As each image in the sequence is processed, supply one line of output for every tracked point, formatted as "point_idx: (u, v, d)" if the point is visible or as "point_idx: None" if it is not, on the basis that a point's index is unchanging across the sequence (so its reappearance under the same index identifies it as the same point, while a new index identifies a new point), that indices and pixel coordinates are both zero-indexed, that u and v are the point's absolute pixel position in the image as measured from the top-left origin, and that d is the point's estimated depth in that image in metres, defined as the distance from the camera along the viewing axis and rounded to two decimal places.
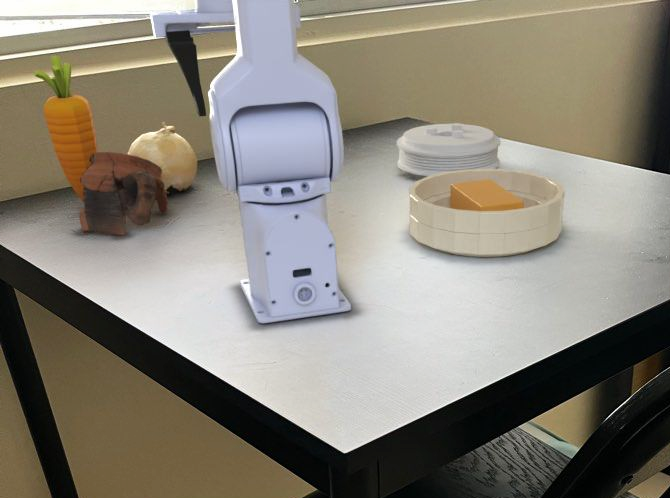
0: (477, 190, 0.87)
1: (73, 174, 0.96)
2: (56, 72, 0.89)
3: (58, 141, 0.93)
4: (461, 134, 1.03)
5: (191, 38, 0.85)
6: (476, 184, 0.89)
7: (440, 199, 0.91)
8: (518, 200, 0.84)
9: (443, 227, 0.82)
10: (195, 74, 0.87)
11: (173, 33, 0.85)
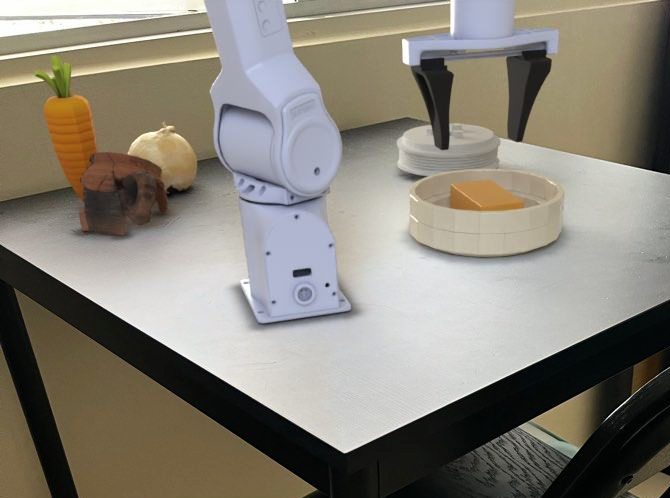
0: (477, 190, 0.87)
1: (73, 174, 0.96)
2: (56, 72, 0.89)
3: (58, 141, 0.93)
4: (461, 134, 1.03)
5: (445, 66, 0.78)
6: (476, 184, 0.89)
7: (440, 199, 0.91)
8: (518, 200, 0.84)
9: (443, 227, 0.82)
10: (446, 105, 0.79)
11: (427, 61, 0.77)
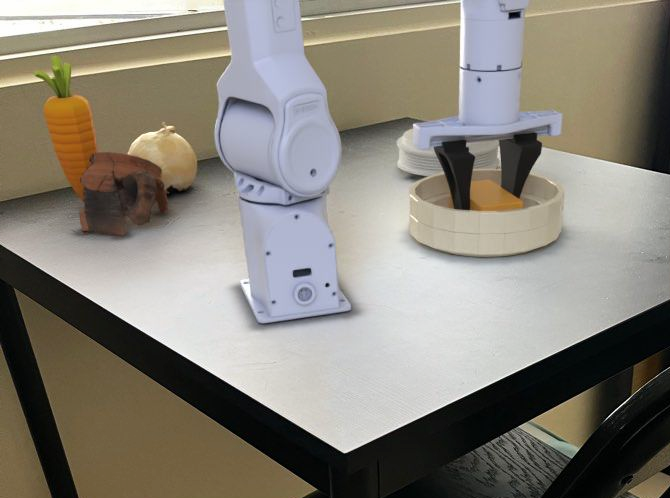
0: (477, 190, 0.87)
1: (73, 174, 0.96)
2: (56, 72, 0.89)
3: (58, 141, 0.93)
4: None
5: (467, 148, 0.82)
6: (476, 184, 0.89)
7: (440, 199, 0.91)
8: (518, 200, 0.84)
9: (443, 227, 0.82)
10: (467, 184, 0.83)
11: (450, 143, 0.82)
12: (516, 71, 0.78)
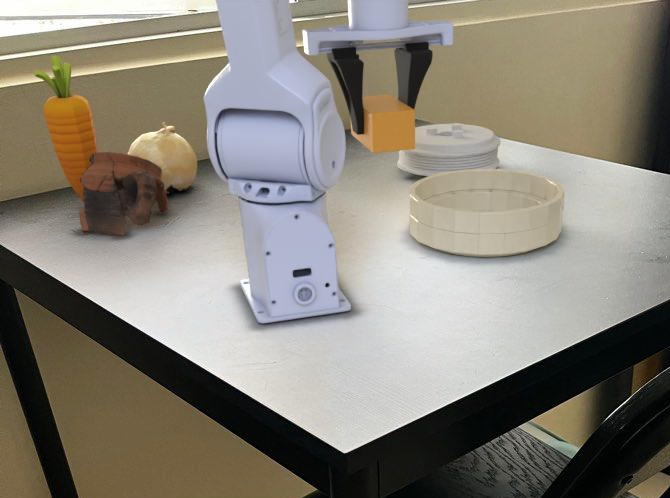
0: (373, 101, 0.88)
1: (73, 174, 0.96)
2: (56, 72, 0.89)
3: (58, 141, 0.93)
4: (461, 134, 1.03)
5: (357, 55, 0.83)
6: (374, 97, 0.90)
7: (440, 199, 0.91)
8: (409, 109, 0.85)
9: (443, 227, 0.82)
10: (358, 92, 0.84)
11: (340, 50, 0.83)
12: None
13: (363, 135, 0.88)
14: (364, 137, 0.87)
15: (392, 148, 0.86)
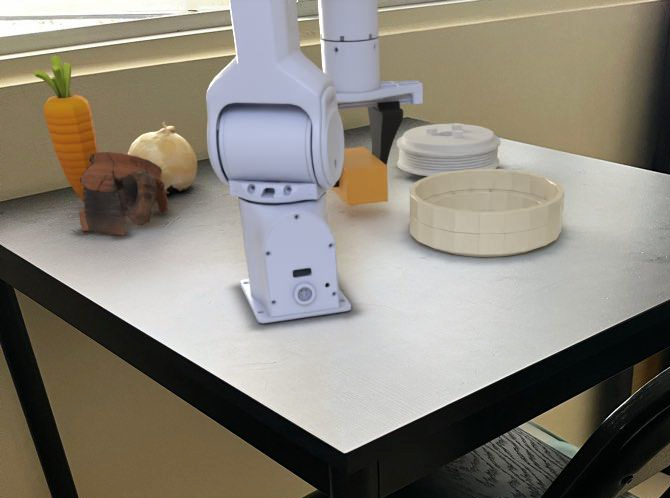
0: (348, 156, 0.93)
1: (73, 174, 0.96)
2: (56, 72, 0.89)
3: (58, 141, 0.93)
4: (461, 134, 1.03)
5: None
6: (349, 150, 0.94)
7: (440, 199, 0.91)
8: (382, 164, 0.90)
9: (443, 227, 0.82)
10: None
11: None
12: (371, 41, 0.84)
13: (338, 187, 0.93)
14: (339, 189, 0.92)
15: (366, 201, 0.91)
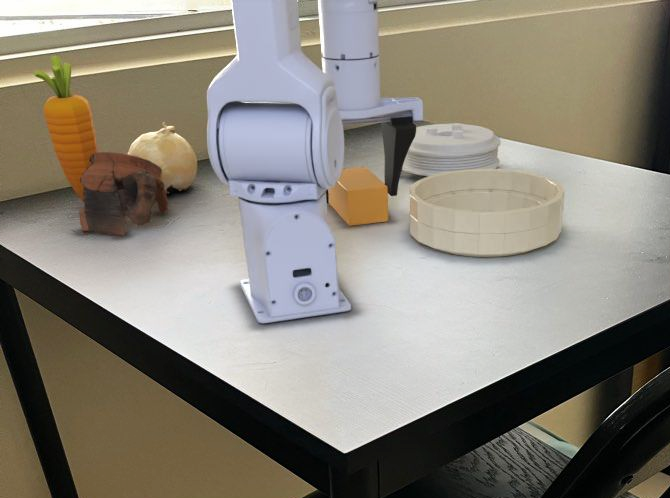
0: (349, 176, 0.94)
1: (73, 174, 0.96)
2: (56, 72, 0.89)
3: (58, 141, 0.93)
4: (461, 134, 1.03)
5: None
6: (350, 171, 0.96)
7: (440, 199, 0.91)
8: (382, 185, 0.91)
9: (443, 227, 0.82)
10: None
11: None
12: (372, 60, 0.85)
13: (340, 207, 0.94)
14: (341, 209, 0.94)
15: (367, 221, 0.92)
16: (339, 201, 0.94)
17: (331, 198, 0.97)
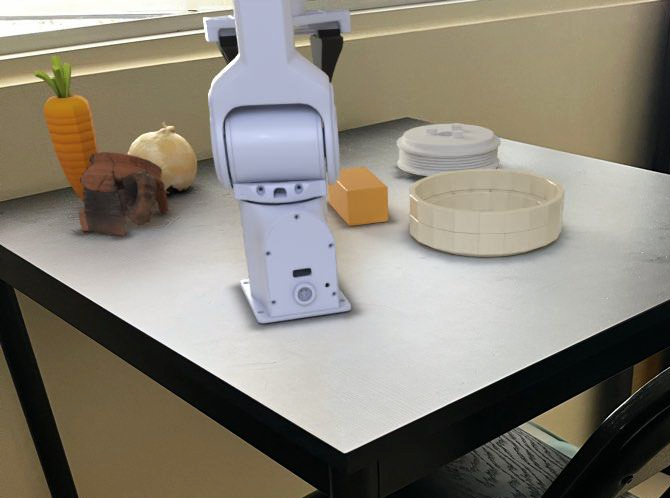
0: (349, 176, 0.94)
1: (73, 174, 0.96)
2: (56, 72, 0.89)
3: (58, 141, 0.93)
4: (461, 134, 1.03)
5: None
6: (350, 171, 0.96)
7: (440, 199, 0.91)
8: (382, 185, 0.91)
9: (443, 227, 0.82)
10: None
11: (226, 38, 0.86)
12: None
13: (340, 207, 0.94)
14: (341, 209, 0.94)
15: (367, 221, 0.92)
16: (339, 201, 0.94)
17: (331, 198, 0.97)
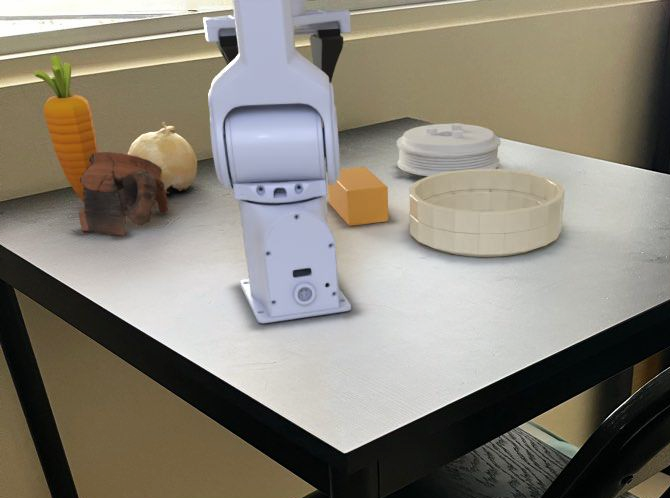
0: (349, 176, 0.94)
1: (73, 174, 0.96)
2: (56, 72, 0.89)
3: (58, 141, 0.93)
4: (461, 134, 1.03)
5: None
6: (350, 171, 0.96)
7: (440, 199, 0.91)
8: (382, 185, 0.91)
9: (443, 227, 0.82)
10: None
11: (226, 38, 0.86)
12: None
13: (340, 207, 0.94)
14: (341, 209, 0.94)
15: (367, 221, 0.92)
16: (339, 201, 0.94)
17: (331, 198, 0.97)
